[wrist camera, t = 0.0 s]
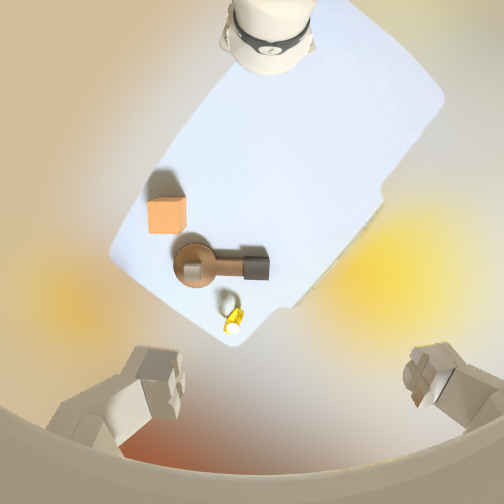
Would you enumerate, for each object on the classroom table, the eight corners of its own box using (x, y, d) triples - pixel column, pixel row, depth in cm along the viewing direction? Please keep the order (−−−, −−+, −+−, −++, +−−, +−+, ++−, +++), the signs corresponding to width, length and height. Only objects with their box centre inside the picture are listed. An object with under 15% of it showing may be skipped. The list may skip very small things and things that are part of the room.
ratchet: (175, 242, 57) (168, 250, 52) (269, 245, 58) (271, 254, 52) (177, 282, 60) (171, 293, 55) (267, 285, 60) (268, 297, 55)
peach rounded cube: (157, 197, 54) (147, 201, 49) (185, 196, 54) (178, 201, 49) (158, 225, 56) (149, 233, 51) (186, 226, 56) (179, 234, 51)
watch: (232, 326, 64) (230, 341, 58) (221, 320, 63) (219, 335, 58) (246, 308, 62) (246, 322, 57) (236, 302, 62) (234, 316, 56)
